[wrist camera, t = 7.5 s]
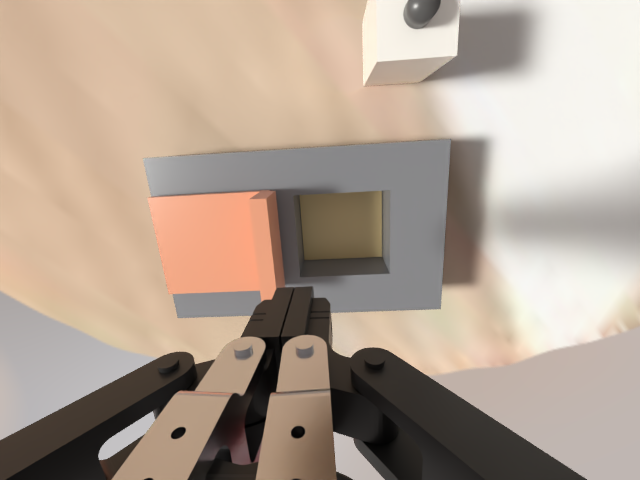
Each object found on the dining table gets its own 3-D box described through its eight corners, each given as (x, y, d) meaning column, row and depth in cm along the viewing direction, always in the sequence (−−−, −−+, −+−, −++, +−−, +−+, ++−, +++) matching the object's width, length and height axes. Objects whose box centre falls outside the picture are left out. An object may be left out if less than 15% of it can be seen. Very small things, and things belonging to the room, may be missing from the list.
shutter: (277, 189, 21) (266, 198, 17) (286, 285, 23) (278, 311, 19) (152, 196, 21) (117, 206, 18) (172, 290, 23) (145, 315, 20)
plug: (421, 17, 21) (474, -58, 13) (419, 82, 22) (466, 48, 14) (362, 22, 21) (379, -49, 13) (363, 86, 22) (380, 55, 15)
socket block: (431, 140, 23) (451, 139, 20) (425, 285, 27) (440, 309, 23) (172, 156, 24) (142, 158, 21) (198, 294, 28) (177, 318, 24)
